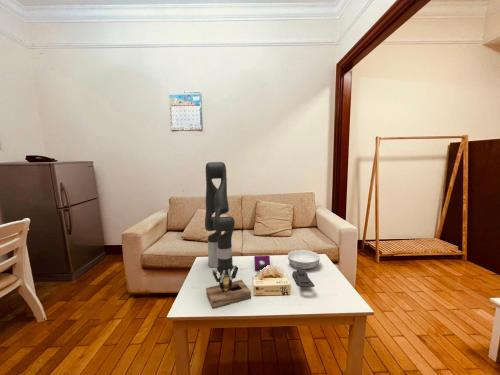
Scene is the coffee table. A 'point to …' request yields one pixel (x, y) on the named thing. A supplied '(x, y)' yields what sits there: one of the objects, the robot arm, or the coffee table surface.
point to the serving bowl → (303, 258)
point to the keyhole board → (228, 294)
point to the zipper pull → (302, 278)
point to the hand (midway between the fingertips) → (225, 287)
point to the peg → (226, 283)
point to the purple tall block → (257, 258)
